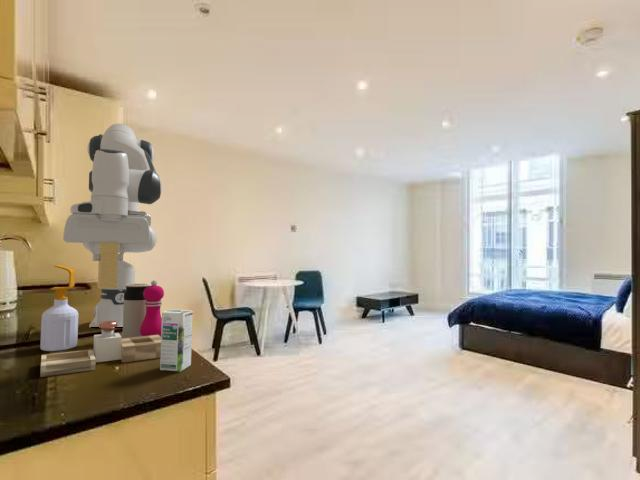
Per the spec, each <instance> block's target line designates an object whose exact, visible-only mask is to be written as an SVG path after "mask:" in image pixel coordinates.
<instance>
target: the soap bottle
mask: <svg viewBox="0 0 640 480" xmlns="http://www.w3.org/2000/svg"><path fill="white" fill-rule="evenodd" d="M53 267H55V268H58V269H61V270H65V271H67V272H68V276H69V277H68V280H69V281H68V286H54V287H51V288H50V290H52V291H53V290H54V291H55V293H56V294H57V296H55V297H54V300H53V301H54V302H53V305H52V306H51V307H49V308H47V309H46V310H45V311H44V312H42V315H41V321H40V322H41V324H40V343H39V344H40V345H39V346H40V347H39V348H40V350H41V351H44V352H61V351H67V350H72V349H73V348H76V347H77V345H78V335H79V334H78V333H79V329H78V328H79V312H78V310H77V309H76V308H75V307H72V306H70V305H69V303H68V301H69V300H68V299H69V298H68V296H65V293H68V290H70V289H73V288H74V287H75V283H76V279H75V278H76V271H75V269H73V268H72V267H68V266H66V265H61V264H55V265H53Z"/></svg>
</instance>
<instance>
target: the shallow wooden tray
mask: <svg viewBox="0 0 640 480" xmlns="http://www.w3.org/2000/svg"><path fill="white" fill-rule="evenodd" d="M40 359H41V360H40V371H39V372H40V376H39V377H40V378H44V377H51V376H52V377H53V376H58V375H65V374H67V375H68V374H74V373H80V372H89V371H95V370H96V366H97V365H96V364H97V362H96V359H95V356H94V353H93V349H92V348H91V349H84V350H76V351H75V350H74V351H68V352H67V351H66V352H56V353H47V354H41V358H40Z"/></svg>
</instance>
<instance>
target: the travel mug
mask: <svg viewBox="0 0 640 480" xmlns="http://www.w3.org/2000/svg"><path fill="white" fill-rule="evenodd" d="M125 286H126V292H125V294H124V306H123V328H122V334H121V335H122V336H121V337H122V338H130V337H140V336H142V335H141V334H140V327H141V324H142V322H143V320H144V318H145V315H146V306H145V301H146V299H145V298H144V296H143V292H144V290H145V288H147V287H148V286H151V283H145V282H143V283H142V282H141V283H140V282H139V283H135V284H126V285H125Z"/></svg>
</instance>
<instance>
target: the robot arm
mask: <svg viewBox="0 0 640 480" xmlns="http://www.w3.org/2000/svg"><path fill="white" fill-rule="evenodd" d="M87 154H88V156H89V159H90V160H91V162H92V170H91V171H90V172H88V190H89V192H91V194H90V201H83V202H80V203H74V204H72V205H71V206H70V209H69V211H70V213H71V214H70V215H69V216H68V217H67V219H66V221H65V224H64V229H63V241H64V242H66V243H72V244H73V243H76V244H78V243H79V244H80V243H81V244H82V245H83V247H84V248H85V249H86V250H87V251H89V252H90V253H91V254H92V261H93V262H99V261H100V258H99V257H100V254H99V243H101V242H109V243H118V268H117V288H105V289H100V301H99V302H97V304H96V305H95V306H94V308H93V313H92V314H93V319H92V320H91V322H90V323H89V326H88V328H91V327H99V323H100V322H105V321H116V322H117V327H123V306H124V294H125V292H126V286H125V285H126V284H135V282H136V269H135V267H134V266H133V265H132V264H131V263H129V262H127V261H125V260H124V254H125V253H135V254H138V253H145V252H150V251H152V250H153V249H154V248H155V246H156V243H157V239H158V238H157V233H156V231H155V230H154V228H152V227H151V224H152V217H151V215H150V214H149V213H146V211H140V210H139V209H140V208H139V203H140V204H143V205H153V204H154V203H155V202H157V201H159V199H161V195H162V192H163V185H162V184H163V183H162V180H161V177H160V175H159V174H158V173H157V171H156V169H155V166H154V163H153V162H154V159H155V151H154V148H153V145H152V143H150V142H149V141H147V140H143V139H141V140H139V139H137V137H136V134H135V132H134V130H133V128H131V127H130V126H128V125H126V124H124V123H113V124H112V125H109V127H108V128H106V130H105V132H103V134H102V133H100V134H99V135H95V136H92V137H91V138H90V139H89V142H88V144H87Z"/></svg>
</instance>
